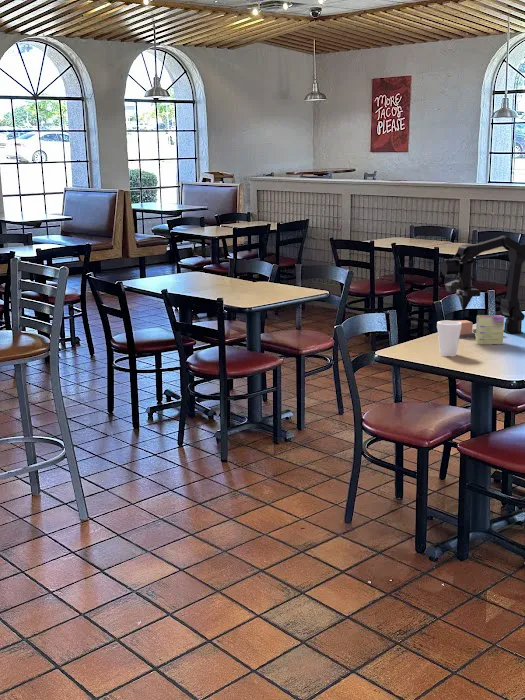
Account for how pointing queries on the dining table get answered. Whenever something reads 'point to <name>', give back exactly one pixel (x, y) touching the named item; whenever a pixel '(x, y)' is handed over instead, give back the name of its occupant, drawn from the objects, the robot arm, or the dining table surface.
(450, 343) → the foam cup
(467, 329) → the terracotta block
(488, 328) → the box
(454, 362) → the dining table surface
